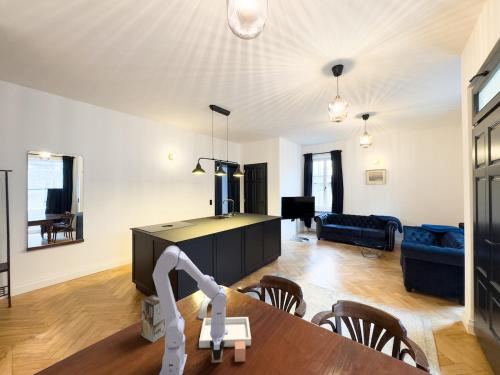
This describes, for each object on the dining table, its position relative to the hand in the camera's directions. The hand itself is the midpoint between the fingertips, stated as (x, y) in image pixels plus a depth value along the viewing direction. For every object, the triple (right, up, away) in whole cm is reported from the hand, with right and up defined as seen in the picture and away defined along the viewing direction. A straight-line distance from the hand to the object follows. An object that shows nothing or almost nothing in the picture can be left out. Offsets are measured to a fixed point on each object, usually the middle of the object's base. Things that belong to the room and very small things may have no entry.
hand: (217, 354), depth 85 cm
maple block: (0, -1, 0) cm, 1 cm away
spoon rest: (-9, -2, +37) cm, 38 cm away
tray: (+2, -2, +14) cm, 14 cm away
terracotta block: (+9, -2, +1) cm, 9 cm away
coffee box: (-31, -1, +12) cm, 34 cm away
